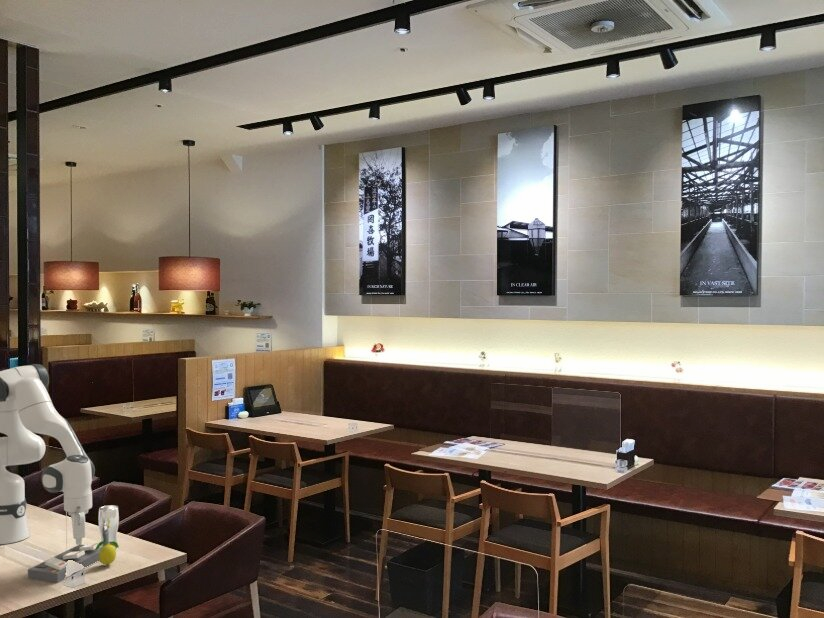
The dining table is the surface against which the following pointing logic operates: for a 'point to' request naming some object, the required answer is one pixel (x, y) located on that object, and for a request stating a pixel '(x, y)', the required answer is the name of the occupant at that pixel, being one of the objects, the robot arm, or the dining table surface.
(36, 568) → the power strip
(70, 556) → the rocker
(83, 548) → the rocker
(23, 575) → the dining table surface
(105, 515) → the beer glass
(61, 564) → the rocker
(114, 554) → the lemon
